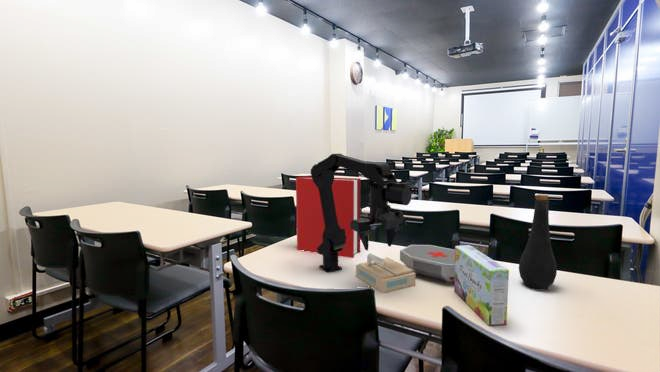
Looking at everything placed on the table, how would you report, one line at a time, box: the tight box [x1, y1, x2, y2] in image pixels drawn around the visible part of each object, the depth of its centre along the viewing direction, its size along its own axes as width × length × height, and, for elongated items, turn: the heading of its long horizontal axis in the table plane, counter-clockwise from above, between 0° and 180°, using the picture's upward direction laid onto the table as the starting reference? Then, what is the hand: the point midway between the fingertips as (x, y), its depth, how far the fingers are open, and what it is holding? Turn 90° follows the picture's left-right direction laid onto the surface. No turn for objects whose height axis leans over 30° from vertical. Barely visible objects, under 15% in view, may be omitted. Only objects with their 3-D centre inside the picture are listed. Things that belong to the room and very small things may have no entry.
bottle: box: [518, 193, 558, 291], centre depth 111 cm, size 11×11×30 cm
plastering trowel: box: [366, 253, 414, 276], centre depth 118 cm, size 14×11×5 cm
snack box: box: [453, 244, 510, 327], centre depth 98 cm, size 21×6×15 cm, turn 4°
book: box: [295, 175, 362, 259], centre depth 149 cm, size 27×8×32 cm, turn 66°
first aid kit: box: [399, 244, 455, 283], centre depth 124 cm, size 18×8×25 cm
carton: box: [355, 261, 416, 294], centre depth 118 cm, size 16×13×5 cm
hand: (378, 248), depth 115 cm, fingers open, 9 cm apart
